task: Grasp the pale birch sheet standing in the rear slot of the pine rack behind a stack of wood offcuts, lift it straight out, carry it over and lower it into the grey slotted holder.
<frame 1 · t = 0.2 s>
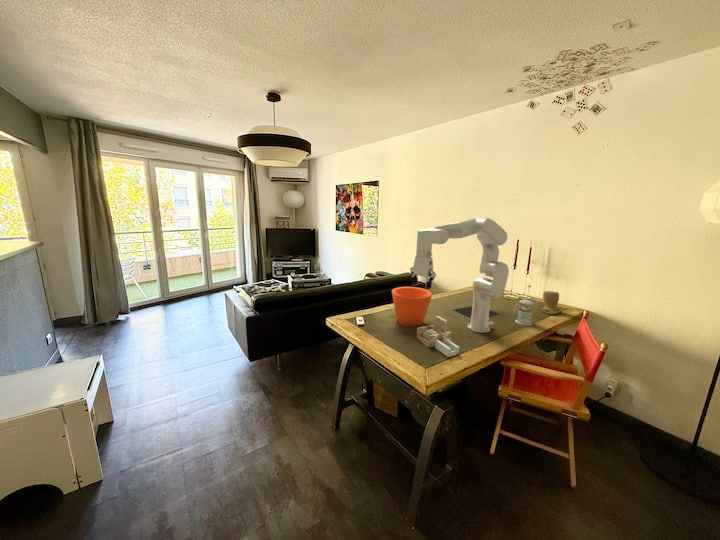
hand: (421, 286, 140), 30 cm above the table, fingers open, 9 cm apart
tablet: (475, 313, 191), on the table
flowerpot: (409, 322, 172), on the table
holder: (445, 352, 134), on the table
rack: (433, 341, 145), on the table
stone cup: (549, 311, 195), on the table
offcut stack: (430, 340, 144), point 1 cm above the table, touching rack
french press: (522, 322, 174), on the table
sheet: (439, 339, 146), point 1 cm above the table, touching rack
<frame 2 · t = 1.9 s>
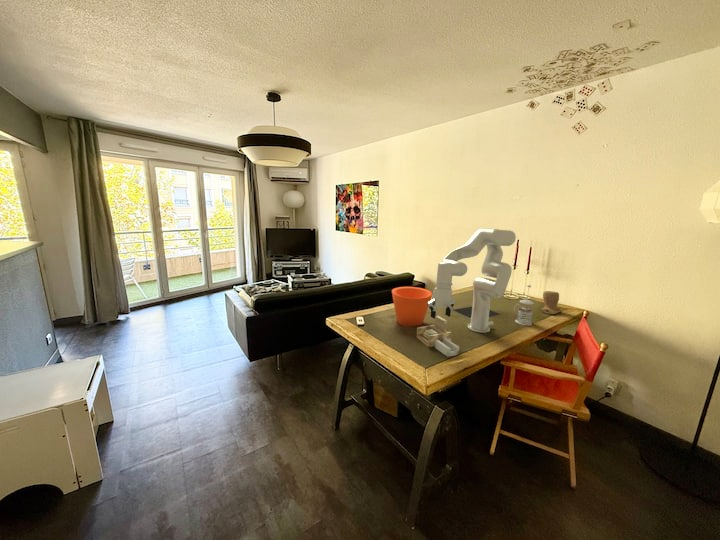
hand: (440, 316, 143), 14 cm above the table, fingers open, 9 cm apart
nothing on the table moved.
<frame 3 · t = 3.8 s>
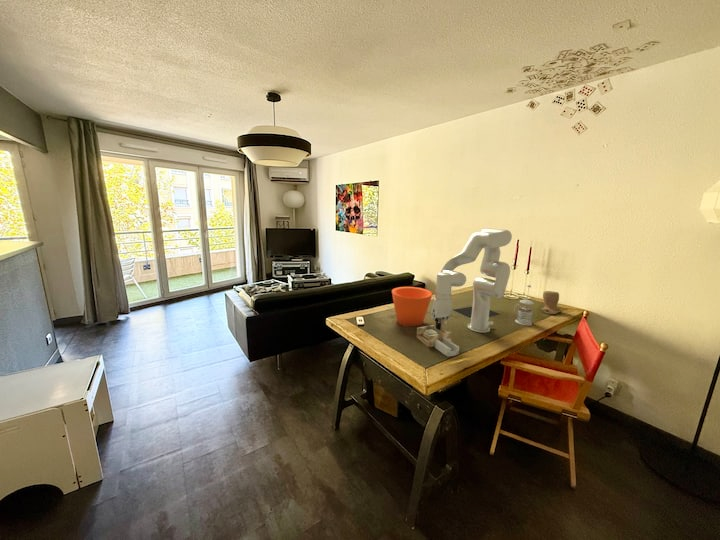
hand: (440, 328, 145), 7 cm above the table, fingers closed on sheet, 2 cm apart
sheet: (439, 339, 146), point 1 cm above the table, touching gripper, rack
everything else where it was.
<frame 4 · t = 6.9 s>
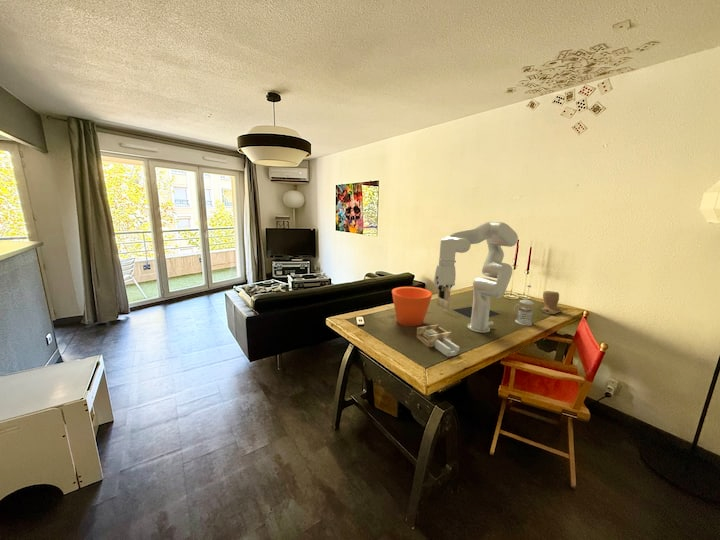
hand: (443, 297, 140), 25 cm above the table, fingers closed on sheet
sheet: (442, 308, 141), point 19 cm above the table, touching gripper
everything else where it was.
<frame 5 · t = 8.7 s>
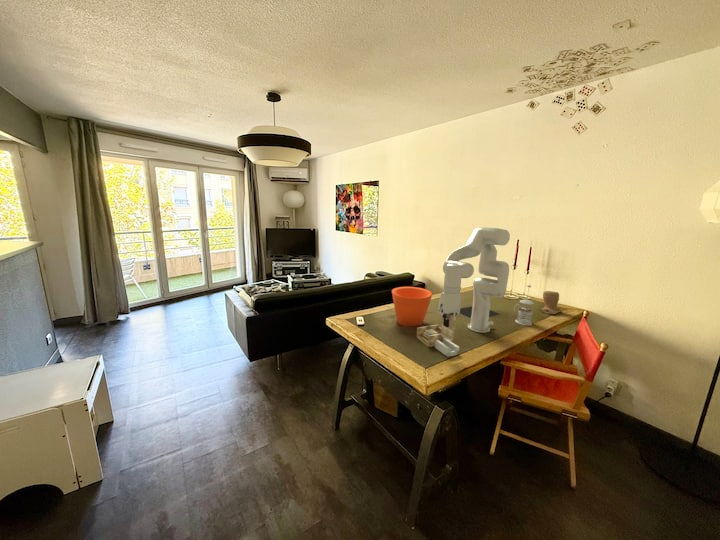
hand: (448, 325, 131), 14 cm above the table, fingers closed on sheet
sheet: (446, 337, 132), point 8 cm above the table, touching gripper
everything else where it was.
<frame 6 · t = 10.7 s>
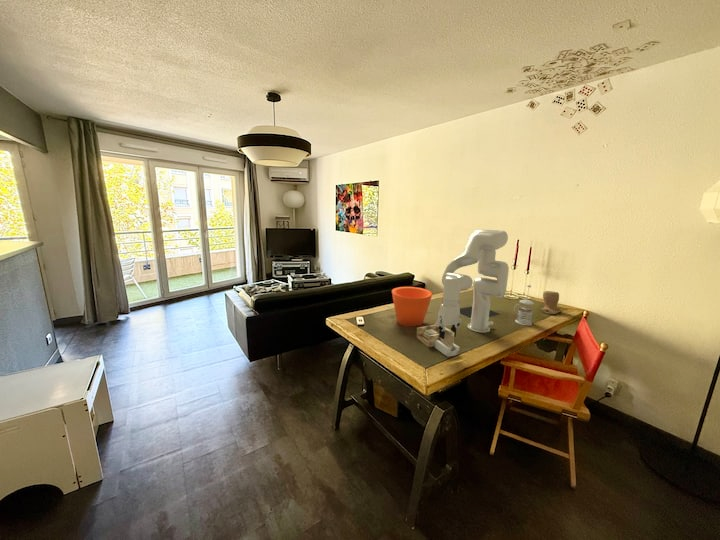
hand: (447, 336, 132), 9 cm above the table, fingers open, 6 cm apart
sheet: (446, 352, 134), resting in holder
everything else where it was.
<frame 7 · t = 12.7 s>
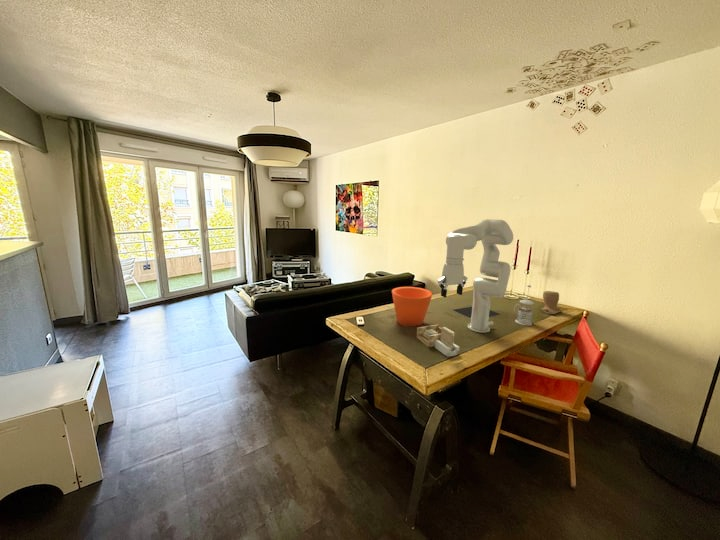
hand: (451, 295, 132), 29 cm above the table, fingers open, 9 cm apart
nothing on the table moved.
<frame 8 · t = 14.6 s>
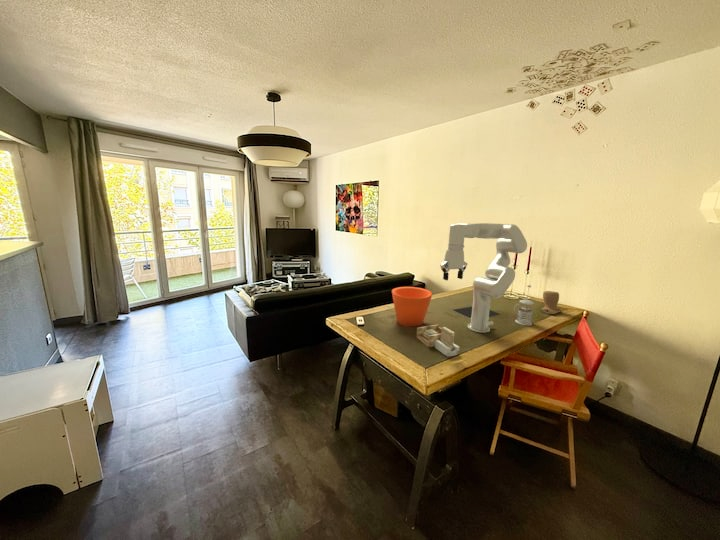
hand: (452, 279, 145), 33 cm above the table, fingers open, 9 cm apart
nothing on the table moved.
at the end: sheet 0.1 cm off-centre on the holder, point 0.0 cm above the holder's base; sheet tilted 0°; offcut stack moved 0.0 cm from its start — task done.
